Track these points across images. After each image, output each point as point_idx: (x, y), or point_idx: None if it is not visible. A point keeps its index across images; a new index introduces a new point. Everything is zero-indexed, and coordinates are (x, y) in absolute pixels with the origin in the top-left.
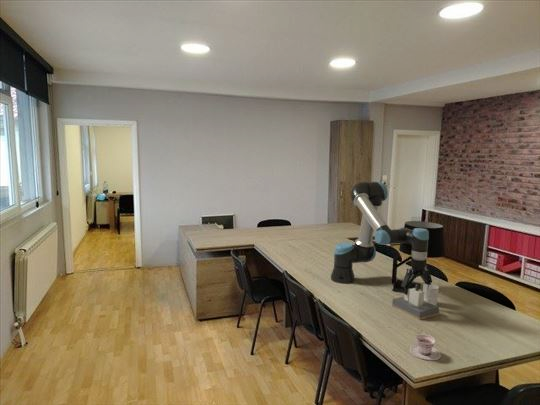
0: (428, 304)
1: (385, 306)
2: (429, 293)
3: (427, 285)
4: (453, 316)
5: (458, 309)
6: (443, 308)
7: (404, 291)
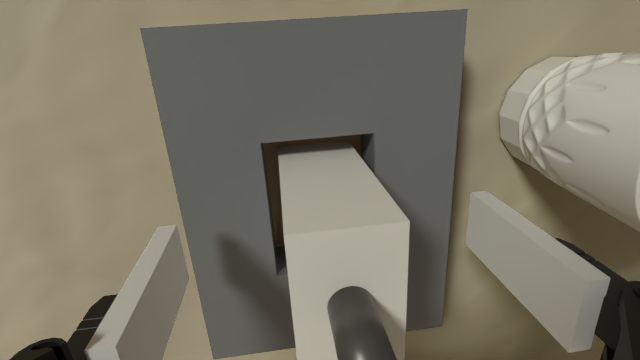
0: (408, 266)
1: (84, 8)
2: (579, 185)
3: (563, 346)
4: (479, 325)
5: (610, 260)
6: (543, 220)
7: (80, 338)
